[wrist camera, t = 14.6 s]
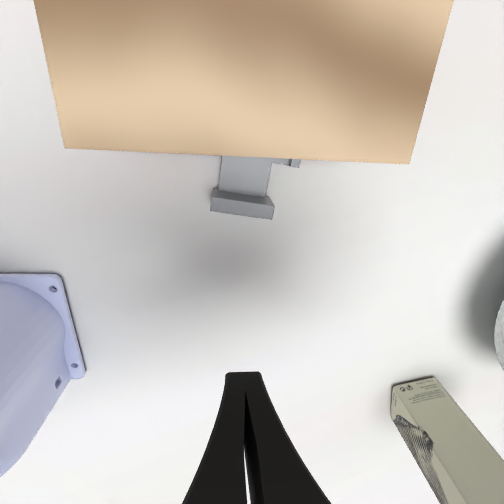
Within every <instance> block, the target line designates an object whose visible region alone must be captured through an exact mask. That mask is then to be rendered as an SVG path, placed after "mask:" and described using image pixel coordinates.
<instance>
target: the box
mask: <svg viewBox="0 0 504 504" xmlns="http://www.w3.org/2000/svg"><path fill="white" fill-rule="evenodd" d="M391 418H392V420H393V422H394V423H395V425H396V427H397V428H398V430H399V432H400V434H401V436H402V437H403V439H404V441H405V443H406V444H407V446H408V448H409V450H410V451H411V453H412V455H413V457H414V458H415V460H416V462H417V464H418V466H419V467H420V469H421V471H422V472H423V474H424V476H425V478H426V480H427V481H428V483H429V485H430V487H431V488H432V490H433V492H434V493H435V495H436V497H437V499H438V501H439V502H440V504H504V460H503V459H502V458H501V456H500V455H499V454H498V453H497V452H496V450H495V449H494V448H493V447H492V446H491V444H490V443H489V442H488V441H487V440H486V438H485V437H484V436H483V435H482V434H481V432H480V431H479V430H478V429H477V428H476V426H475V425H474V424H473V423H472V421H471V420H470V419H469V418H468V417H467V415H466V414H465V413H464V412H463V411H462V409H461V408H460V407H459V406H458V405H457V403H456V402H455V401H454V400H453V398H452V397H451V396H450V395H449V394H448V392H447V391H446V390H445V389H444V387H443V386H442V385H441V384H440V383H439V381H438V380H437V379H436V378H435V377H433V378H429V379H422V380H418V381H414V382H409V383H405V384H400V385H396V386H394V387H393V391H392V403H391Z"/></svg>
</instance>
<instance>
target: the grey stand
mask: <svg viewBox="0 0 504 504" xmlns="http://www.w3.org/2000/svg"><path fill="white" fill-rule="evenodd" d="M300 161H301V159H285V158H264V157H242V156H222V162H221V170H220V178H219V186H218V188H213V193H212V197H211V206H210V211H215V212H222V213H228V214H235V215H242V216H249V217H256V218H263V219H270V220H272V217H273V212H274V208H275V206H274V204H273V203H272V201H271V200H270V198H269V197H268V196H266V191H267V185H268V180H269V175H270V170H271V165H272V162H273V163H279V164H284V165H289V166H291V167H297V168H299V165H300Z"/></svg>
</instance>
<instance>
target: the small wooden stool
mask: <svg viewBox="0 0 504 504" xmlns="http://www.w3.org/2000/svg"><path fill="white" fill-rule="evenodd" d="M453 1H454V0H34V4H35V9H36V14H37V19H38V23H39V28H40V33H41V38H42V42H43V47H44V52H45V57H46V61H47V66H48V71H49V76H50V80H51V85H52V90H53V95H54V99H55V104H56V109H57V114H58V119H59V123H60V128H61V133H62V138H63V142H64V147H65V148H71V149H93V150H114V151H135V152H157V153H178V154H200V155H221V156H242V157H264V158H285V159H307V160H328V161H349V162H371V163H392V164H409V163H410V159H411V156H412V152H413V148H414V145H415V141H416V137H417V133H418V130H419V126H420V122H421V119H422V115H423V111H424V108H425V104H426V100H427V97H428V93H429V89H430V86H431V82H432V78H433V74H434V71H435V67H436V63H437V60H438V56H439V52H440V49H441V45H442V41H443V38H444V34H445V30H446V27H447V23H448V19H449V15H450V12H451V8H452V4H453Z"/></svg>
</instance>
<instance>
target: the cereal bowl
mask: <svg viewBox="0 0 504 504" xmlns="http://www.w3.org/2000/svg"><path fill="white" fill-rule="evenodd" d="M494 329H495V333H494V338H495V341H494V344H495V347H496V354H497V356H498V360H499V362H500V364H501V365H502V369H503V370H504V300H503V301H502V303H501V306H500V310H499V311H498V316H497V318H496V325H495V328H494Z"/></svg>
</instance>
